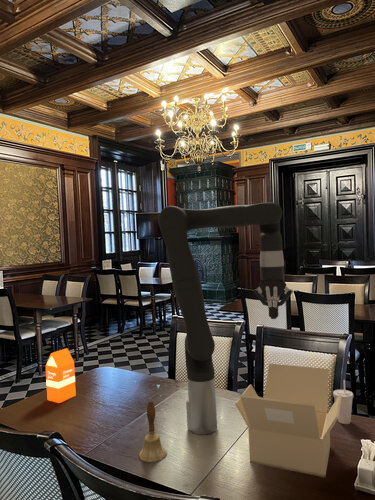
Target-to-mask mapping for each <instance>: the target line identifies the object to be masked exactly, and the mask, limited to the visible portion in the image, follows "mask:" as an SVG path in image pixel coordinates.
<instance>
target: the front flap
mask: <svg viewBox="0 0 375 500" xmlns="http://www.w3.org/2000/svg"><path fill="white" fill-rule="evenodd" d="M240 397H241V400H242V403H243V406H244V410H245V413H246V416H247V419H248V422H249V425H250V428H252V429H258V430H265V431H271V432H277V433H283V434H289V435H295V436H301V437H307V438H313V439H320V434H319V428H318V422H317V416H316V410H315V404H308V403H300V402H292V401H284V400H276V399H268V398H264V397H260V396H258V397H253V396H245V395H242V394H240ZM240 397H239V398H240Z"/></svg>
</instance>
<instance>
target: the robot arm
mask: <svg viewBox="0 0 375 500" xmlns="http://www.w3.org/2000/svg"><path fill="white" fill-rule="evenodd" d="M282 217H283V210H282V207H281V206H280V205H279V204H278V203H277V202H276V203H275V202H272V201H271V202H270V201H269V202H260V203H253V204H240V205H239V204H237V205H226V206H218V207H212V208H206V209H191V208H190V209H187V208H181V207H179V206H174V205H168V206H166V207H164V208H163V209H161V211H160V212H159V215H158V218H157V219H158V226H159V230H160V233H161V236H162V238H163V241H164V245H165V248H166V252H167V253H166V254H167V257H168V265H169V272H170V279H171V282H172V287H173V292H174V295H175V299H176V301H177V305H178V307H179V310H180V311H181V315H182V318H183V320H184V325H185V332H186V335H185V337H184V355H185V356H184V357H185V368H186V374H187V375H186V379H187V395H188V398H187V400H186V402H185V403H186V406H185V407H186V426H187V430H188V431H190V432H192V433H194V434H197V435H209V434H212V433H215V432H216V431H217V429H218V419H217V413H218V412H217V398H216V397H217V395H216V377H215V376H216V375H215V374H216V373H215V366H214V361H213V354H214V352H215V348H216V345H215V344H216V343H215V339H214V337H213V334H212V332H211V328H210V325H209V323H208V321H209V320H208V318H207V315H206V307H205V306H206V305H205V299H204V293H203V287H202V282H201V278H200V272H199V269H198V265H197V263H196V261H195V259H194V257H193V254H192V251H191V249H190V245H189V240H188V239H189V238H188V233H187V232H188V231H193V230H197V229H207V228H208V229H209V228H211V229H212V228H213V229H214V228H216V229H217V228H218V229H219V228H220V229H223V228H225V229H229V228H230V229H231V228H241V227H242V228H243V227H248V226H258V227H259V234H260V237H259V249H260V250H259V251H260V254H259V270H260V271H259V272H260V282H259V285H258V287H257V288H256V289H253V291H252V292H253V294H254V295H255V297H256V298H257V299H258V300H259V301H260V303H261V304H262V305H263V306H267V308H268V316H269V318H270V319H271V320H277V318H278V317H279V314H280V313H279V307H282V306H283V305H284V304H285V303H286V302H287V301H288V300H289V298H290V297H291V296H292V294H293V293H294V290H293V289H291V288H289V287H288V286H287V283H286V281H285V260H284V252H283V237H282V234H281V219H282ZM283 292H284V296H283V297H282V298H281V299H280V296H282V294H283ZM262 293H263V294H262ZM264 295H265V296H266V297H265V296H264Z"/></svg>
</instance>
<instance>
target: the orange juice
mask: <svg viewBox="0 0 375 500" xmlns="http://www.w3.org/2000/svg"><path fill="white" fill-rule="evenodd" d="M45 378H46V379H45V381H46V383H45V384H46V397H47V401H48V402H54V403H57V404H60V403H63V402H65V401H67V400H69V399H71V398H73V397H75V396H76V395H77V394H76V393H77V392H76V390H77V389H76V372H75V361H74V359H73V357H72V355H71V352H70V351H69V349H68V348H67V347H66V348H64V349H60V350H56V351H54V352H51V353H50V355H49V357H48V359H47V362H46V364H45Z"/></svg>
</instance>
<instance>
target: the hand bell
mask: <svg viewBox="0 0 375 500" xmlns="http://www.w3.org/2000/svg"><path fill="white" fill-rule="evenodd" d="M146 416H147V417H146V418H147V420H148V433H147V434H146V435H145V437H144V442H143V447H142V449H141V450H140V452H139V454H138V457H139V459H140V460H141V462H145V463H156V462H160V461H161V460H163V459H165V458H166V457H167V454H168V452H167V450H166V448H165V447H164V446H162V442H161V438H160V435H159V434H158V433H155V431H156V430H155V418H156V408H155V404H154V402H153V400H149V401H148V403H147V407H146Z"/></svg>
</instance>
